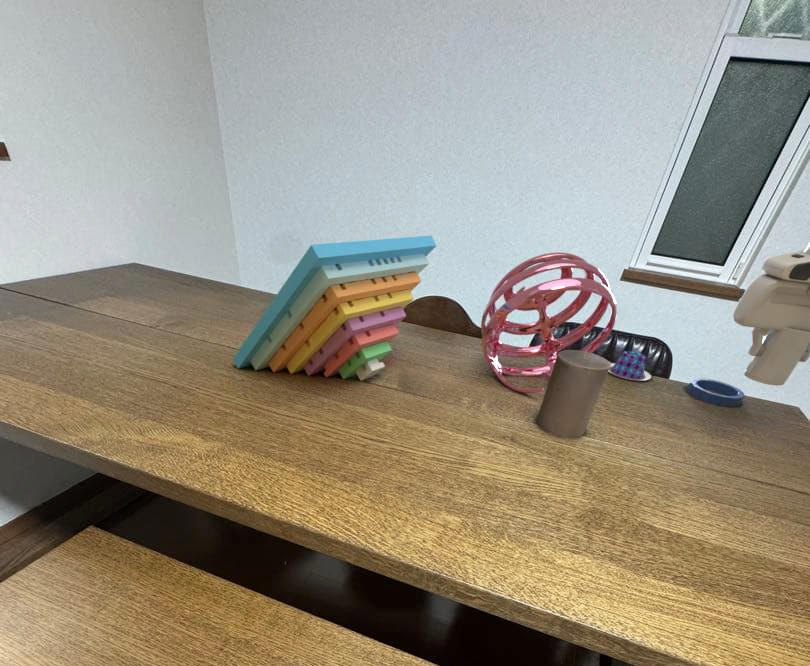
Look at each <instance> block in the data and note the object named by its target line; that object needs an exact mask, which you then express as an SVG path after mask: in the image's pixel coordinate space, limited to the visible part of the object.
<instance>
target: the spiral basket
mask: <svg viewBox="0 0 810 666" xmlns="http://www.w3.org/2000/svg"><path fill="white" fill-rule="evenodd" d="M573 269H579V270H582V271H583V275H584V276H583V277H574V272H573ZM553 270H560V278H556V279H551V280H548V281H545V282H541V283H538V284H535V285H533V286H530V287H529V288H526V285H524V286H522V287H521V288H520V289H518V290H517V291H516V292H514V291H515V290H514V286H517V285H518V284H520V283H521V282H523V281H525V280H527V279H529V278H531V277H533V276H536V275H539V274H542V273H544V272H545V273H546V272H548V271H553ZM595 276H596V277H598V279H599V280H600V281H601V282H599V281H596V278H595ZM569 291H579V293H578V295H577V296H576V297H575V298H574V300H573V301H572V302H571V303H570V304H569V305H568V306H566V307H565V308H564V309H562V310H561V311H559V312H558V313H556V314H553V316H550V315H548V312H547V308H548V306H550V305H551V304H554V303H555V302H557V300H559V299H560V298H561V297H562V296H563V295H564V294H565V293H566V292H569ZM592 294H595V295H598V296H600V297H601V298H600V299H599V302H598V304H597V306H596V307H595V309H594V311H593V312H592V313H591V315H590V316H589V317H588V318H587V319H586V320H585V321H583V323H581V324H580V325H578V327H576V328H575V329H573V330H572V331H570V332H569V333H567V334H565V335H563V336H562V337H560V338H559V337H558V338H555V337H554V335H553V331H554V330H555V328H557V327H559V326H561V325H563V324H564V323H566V322H567V321H569V320H570V319H572V318H573V317H574V316H575V315H577V314H578V313H579V312H580V311H581V310H582V309H583V308H584V306H586V304H587V303H588V302H589V300H590V298H591V296H592ZM502 296H503V299H504V301H505V302H504V303H503V304H502V305H501V306H500V307H499V308H498V309H497V305H496V302H497V301H498V300H499V299H500V298H501V297H502ZM609 306H610V309H611V313H610V317H609V320H608V322H607V323H606V325H605V327H604V328H603V329H602V331H601V332H600V334H598V335H597V337H596V338H594V340H592V341H591V342H590V343H589V344H587V345H586V346H585V347H583V348H582V349H580V350H579V351H584V352H585V351H587V352H588V353H592V354H594V352H595V351H596V350H597V349H599V348H600V347H601V346H602V345H603V343H605V341H606V340H607V339H608V338H609V336H610V335H611V333H612V331H613V329H614V326H615V325H616V320H617V315H618V314H617V313H618V310H617V309H618V308H617V302H616V299H615V297H614V294H613V293H612V292H611V288H610V284H609V281H608V279H607V278H606V276H605V274H604V273H603V272H602V271H601V270H600V269H599V268H597V267H596V266H595V265H593V264H592V263H589V262H588V261H587V260H585V259H583V257H581V256H579V255H576V254H572V253H569V252H558V251H557V252H548V253H543V254H540V255H536V256H533V257H531V258H528V259H526V260H524V261H522V262H521V263H519V264H518V265H516V266H514V267H513V268H512V269H510V270H509V271H508V272H506V274H505V275H504V276H503V277H502V278H501V279H500V280H499V282H498V283H497V285H496V286H495V288H494V289H493V291H492V293H491V295H490V298H489V300H488V302H487V303H486V306H485V308H484V310H483V313H482V317H481V322H480V330H481V331H480V332H481V350H482V353H483V356H484V359H485V361H486V362H487V364H488V365H489V366H490V367H491V369H492V370H493V372H494V374H495V375H496V377H497V379H498V380H499V382H501V383H502V384H503V385H504V386H505V387H507V388H508V389H510V390H512V391H515V392H516V393H520V394H536V393H541V392H543V391H544V390H545V388H544V387H537V388H535V387H534V388H523V387H518V386H515V385H513V384H511V383H510V382H508V380H506V378H505V377H504V375H506V376H522V377H523V376H525V377H539V376H548V378H550V377H551V374H552V370H553V367H554V364H555V361H556V358H557V355H558V353H559V352H561V351H562V350H563V349H564V348H567V347H569V346H571V345H572V344H574V343H576V342H578V341H579V340H580V339H581V338H583V337H585V336H586V335H587V334H588V333H589V332H590V331H592V330H593V329H594V328H595V327H596V325H597V324H598V323H599V322H600V321H601V320H602V318H603V316H604V315H605V313H606V311H607V309H608V307H609ZM515 310H516V311H521V312H530V311H537V312H538V316H539V318H538V320H537V321H534V322H530V323H527V322H526V323H518V322H513V321H510V320H508V316H509V314H512V313H513V312H514V311H515ZM488 316H489V320H488V321H487V318H488ZM502 333H507V334H510V335H515V336H530V335H540V336H541V338H542V341H541V343H540V344H538V345H534V346H512V345H507V344H504V343H502V342H501V340H500V338H501V337H500V336H501V334H502ZM487 347H488V348H487ZM488 350H489V353H488ZM499 355H501V356H505V357H509V358H514V359H515V358H516V359H527V358H528V359H529V358H536V357H543V358H545V363H544V364H543V365H539V366H534V367H514V366H509V365H508V366H507V365H505V364H502V363H501V362H500V360H499V358H498V356H499Z"/></svg>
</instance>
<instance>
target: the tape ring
mask: <svg viewBox="0 0 810 666" xmlns="http://www.w3.org/2000/svg"><path fill="white" fill-rule="evenodd" d="M709 390H710V391H709ZM711 390H712V391H715V392H712V391H711ZM686 392H687V393H688V394H689V395H690V396H691V397H693V398H696V399H698V400H700V401H703V402H705V403H709V404H711V405H712V404H713V405H715V406H722V407H730V408H731V407H737V406H739V405H740V404H741V403H742V402H743V399H744V398H745V392H743V391H742V389H740V388H738V387H736V386H735V385H731V384H729V383H727V382H723V381H721V380H720V381H719V380H716V379H711V378H704V377H703V378H702V377H701V378H699V377H698V378H693V379H691V380H690V382H689V383H688V385H687V387H686ZM716 392H718V393H716ZM720 393H721V394H720Z"/></svg>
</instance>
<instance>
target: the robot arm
mask: <svg viewBox="0 0 810 666" xmlns="http://www.w3.org/2000/svg"><path fill="white" fill-rule="evenodd" d="M761 272H762V273H763V274H761V275H759V276H757V277H755V278H754V280H752V282H751V283H750V284H749V286H748V287H747V288H746V290H745V292H744V293H743V295H742V297H741V298H740V301H739V302H738V304H737V306H736V307H735V309H734V311H733V314H732V316H733V321H734V322H735V323H736V324H737V325H740V326H741V327H747V328H753V330H752V331H751V332H752V335H751V337H752V344H751V346H750V348H749V350H748V353H747V354H748V355H750V356H751V357H754V356H761V355H762V354H763V351H765V349H766V347H765V346H764V345H762V341H763V339H764V337H765V336H766V335H767V334H768V332H769V331H770V329H771V330H780V331H781V330H783V329H784V328H791V329H795V330H800V331H807V332H810V242H809V243H808V245H807V247H806V248H805V249H802V250H799V251H798V250H797V251H793V252H789V253H785V254H780V255H775V256H771V257H768V258H767V259H766V260H765V261H764V263H763V265H762V267H761ZM809 358H810V345H809V347H808V348H807V350H806V351H805V353H804V354H803V356H802V357H801V359H800V360H799V363H800V362H801V363H805V362H807V361H808V360H809Z"/></svg>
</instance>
